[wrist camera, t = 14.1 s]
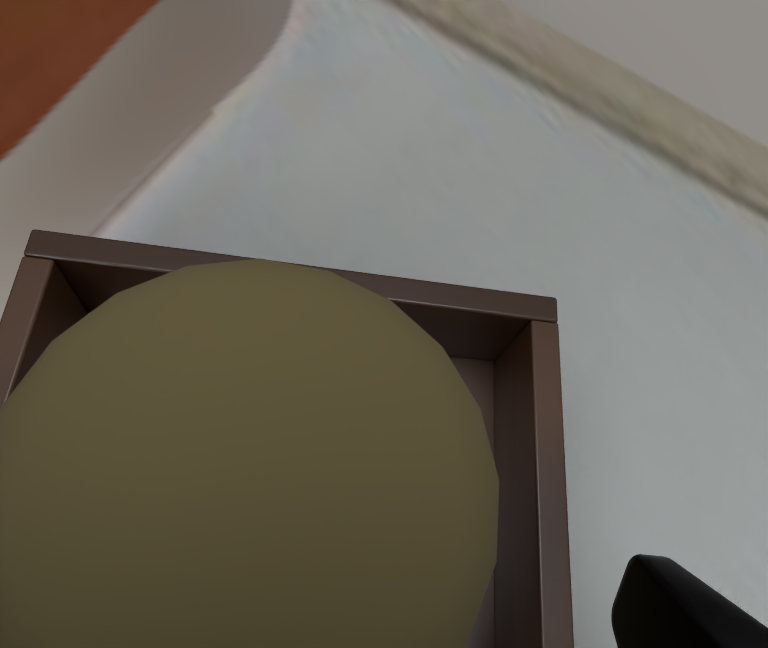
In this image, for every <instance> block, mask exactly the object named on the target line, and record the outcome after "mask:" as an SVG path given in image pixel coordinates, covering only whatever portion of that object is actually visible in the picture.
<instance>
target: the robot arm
mask: <svg viewBox="0 0 768 648" xmlns="http://www.w3.org/2000/svg"><path fill="white" fill-rule="evenodd" d="M612 627H613V631H614V635H615V639H616V643H617V646H618V648H768V628H767V627H766V626H764V625H763V624H761V623H760V622H759V621H757V620H756V619H754V618H753V617H752V616H750V615H749V614H747V613H746V612H745V611H743V610H742V609H740V608H739V607H738V606H736V605H735V604H733V603H732V602H731V601H729V600H728V599H726V598H725V597H723V596H722V595H721V594H719V593H718V592H716V591H715V590H714V589H712V588H711V587H709V586H708V585H707V584H705V583H704V582H702V581H701V580H700V579H698V578H697V577H695V576H694V575H693V574H691V573H690V572H688V571H687V570H686V569H684V568H683V567H681V566H680V565H679V564H677V563H676V562H674V561H673V560H671V559H670V558H667V557H663V556H653V555H642V554H638V555H635V556H633V557H632V558H631V559H630V560H629V562H628V564H627V567H626V570H625V573H624V575H623V578H622V581H621V584H620V586H619V589H618V592H617V595H616V598H615V600H614V603H613V607H612Z"/></svg>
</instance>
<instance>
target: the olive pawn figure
mask: <svg viewBox="0 0 768 648" xmlns="http://www.w3.org/2000/svg"><path fill="white" fill-rule="evenodd" d="M498 507H499V478H498V474H497V470H496V466H495V462H494V459H493V455H492V451H491V447H490V443H489V440H488V436H487V432H486V428H485V424H484V421H483V417H482V413H481V409H480V407H479V405H478V404H477V402H476V400H475V399H474V397H473V396H472V394H471V392H470V391H469V389H468V387H467V386H466V384H465V382H464V381H463V379H462V378H461V376H460V374H459V373H458V371H457V369H456V368H455V366H454V365H453V363H452V361H451V360H450V358H449V356H448V355H447V353H446V351H445V350H444V348H443V347H442V346H441V345H440V344H439V343H438V342H437V341H436V340H434V339H433V338H432V337H431V336H430V335H429V334H428V333H427V332H426V331H424V330H423V329H422V328H421V327H420V326H419V325H418V324H417V323H415V322H414V321H413V320H412V319H411V318H410V317H409V316H408V315H407V314H405V313H404V312H403V311H402V310H401V309H400V308H399V307H398V306H397V305H395V304H394V303H393V302H392V301H391V300H389V299H387V298H385V297H383V296H381V295H379V294H376V293H374V292H372V291H370V290H368V289H366V288H364V287H362V286H360V285H358V284H356V283H354V282H351V281H349V280H347V279H345V278H343V277H341V276H339V275H337V274H335V273H333V272H331V271H328V270H323V269H317V268H311V267H305V266H299V265H294V264H288V263H282V262H276V261H270V260H265V259H251V260H241V261H231V262H221V263H211V264H201V265H191V266H186V267H183V268H180V269H178V270H175V271H173V272H170V273H167V274H165V275H162V276H160V277H157V278H155V279H152V280H149V281H147V282H144V283H142V284H139V285H136V286H134V287H131V288H129V289H126V290H123V291H121V292H118V293H116V294H115V295H113V296H112V297H111V298H109V299H108V300H106V301H105V302H104V303H102V304H101V305H100V306H98V307H97V308H96V309H94V310H93V311H92V312H90V313H89V314H88V315H86V316H85V317H84V318H82V319H81V320H79V321H78V322H77V323H75V324H74V325H73V326H71V327H70V328H69V329H67V330H66V331H65V332H63V333H62V334H61V335H59V336H58V337H56V338H55V339H54V340H52V341H51V343H50V344H49V345H48V347H47V348H46V349H45V350H44V352H43V353H42V354H41V356H40V357H39V358H38V360H37V361H36V362H35V363H34V365H33V366H32V367H31V369H30V370H29V371H28V373H27V374H26V375H25V376H24V378H23V379H22V380H21V382H20V383H19V384H18V386H17V387H16V388H15V389H14V391H13V392H12V393H11V395H10V396H9V397H8V399H7V400H6V401H5V402H4V404H3V405H2V406H1V408H0V648H465V647H466V646H467V644H468V642H469V639H470V636H471V633H472V630H473V627H474V625H475V622H476V619H477V616H478V613H479V610H480V607H481V605H482V602H483V599H484V596H485V593H486V590H487V587H488V585H489V582H490V579H491V576H492V573H493V570H494V567H495V565H496V560H497V533H498Z"/></svg>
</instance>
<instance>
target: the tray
mask: <svg viewBox="0 0 768 648" xmlns="http://www.w3.org/2000/svg"><path fill="white" fill-rule="evenodd" d="M24 255H25V257H23V258H22V260H21V263H20V266H19V269H18V272H17V275H16V278H15V280H14V283H13V286H12V289H11V292H10V295H9V298H8V301H7V304H6V307H5V310H4V312H3V315H2V318H1V321H0V408H1V406H2V405H3V404H4V402H5V401H6V400H7V399H8V397H9V396H10V395H11V393H12V392H13V391H14V389H15V388H16V387H17V386H18V384H19V383H20V382H21V380H22V379H23V378H24V376H25V375H26V374H27V373H28V371H29V370H30V369H31V367H32V366H33V365H34V363H35V362H36V361H37V360H38V358H39V357H40V356H41V354H42V353H43V352H44V350H45V349H46V348H47V347H48V345H49V344H50V343H51V341H52V340H54V339H55V338H56V337H58V336H59V335H61V334H62V333H63V332H65V331H66V330H67V329H69V328H70V327H71V326H73V325H74V324H75V323H77V322H78V321H79V320H81V319H82V318H84V317H85V316H86V315H88V314H89V313H90V312H92V311H93V310H94V309H96V308H97V307H98V306H100V305H101V304H102V303H104V302H105V301H106V300H108V299H109V298H111V297H112V296H113V295H115V294H116V293H118V292H121V291H123V290H126V289H129V288H131V287H134V286H136V285H139V284H142V283H144V282H147V281H149V280H152V279H155V278H157V277H160V276H162V275H165V274H167V273H170V272H173V271H175V270H178V269H180V268H183V267H186V266H191V265H201V264H211V263H221V262H231V261H241V260H251V259H255V258H248V257H240V256H232V255H225V254H217V253H210V252H202V251H194V250H187V249H179V248H172V247H164V246H156V245H149V244H141V243H133V242H126V241H118V240H111V239H103V238H95V237H88V236H80V235H72V234H65V233H57V232H49V231H42V230H32V232H31V234H30V237H29V240H28V243H27V246H26V249H25V251H24ZM276 262H278V261H276ZM282 263H286V262H282ZM288 264H293V263H288ZM294 265H299V266H305V267H311V268H317V269H323V270H328V271H331V272H333V273H335V274H337V275H339V276H341V277H343V278H345V279H347V280H349V281H351V282H354V283H356V284H358V285H360V286H362V287H364V288H366V289H368V290H370V291H372V292H374V293H376V294H379V295H381V296H383V297H385V298H387V299H389V300H391V301H392V302H393V303H394V304H395V305H397V306H398V307H399V308H400V309H401V310H402V311H403V312H404V313H405V314H407V315H408V316H409V317H410V318H411V319H412V320H413V321H414V322H415V323H417V324H418V325H419V326H420V327H421V328H422V329H423V330H424V331H426V332H427V333H428V334H429V335H430V336H431V337H432V338H433V339H434V340H436V341H437V342H438V343H439V344H440V345H441V346H442V347H443V348H444V350H445V351H446V353H447V355H448V356H449V358H450V360H451V361H452V363H453V365H454V366H455V368H456V369H457V371H458V373H459V374H460V376H461V378H462V379H463V381H464V382H465V384H466V386H467V387H468V389H469V391H470V392H471V394H472V396H473V397H474V399H475V400H476V402H477V404H478V405H479V407H480V409H481V413H482V417H483V421H484V424H485V428H486V432H487V436H488V440H489V443H490V447H491V451H492V455H493V459H494V462H495V466H496V470H497V474H498V478H499V507H498V533H497V560H496V565H495V567H494V570H493V573H492V576H491V579H490V582H489V585H488V587H487V590H486V593H485V596H484V599H483V602H482V605H481V607H480V610H479V613H478V616H477V619H476V622H475V625H474V627H473V630H472V633H471V636H470V639H469V642H468V644H467V646H466V647H465V648H574V638H573V618H572V597H571V577H570V556H569V536H568V515H567V495H566V475H565V454H564V434H563V413H562V393H561V372H560V352H559V331H558V324H557V321H558V319H557V300H556V298H552V297H544V296H537V295H529V294H522V293H514V292H506V291H499V290H491V289H484V288H476V287H468V286H461V285H453V284H446V283H438V282H430V281H423V280H415V279H407V278H400V277H392V276H385V275H377V274H369V273H362V272H354V271H347V270H339V269H331V268H324V267H316V266H309V265H301V264H294Z"/></svg>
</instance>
